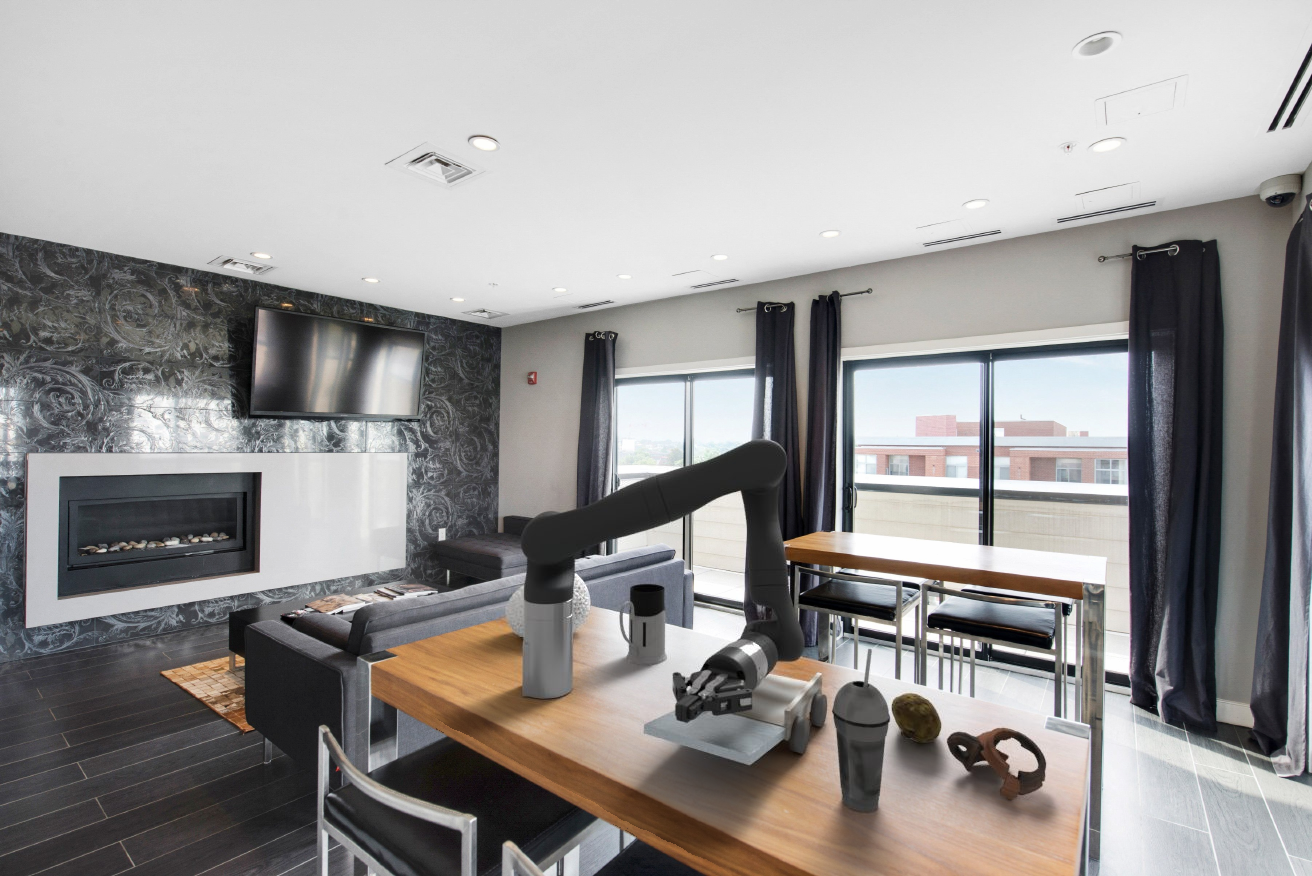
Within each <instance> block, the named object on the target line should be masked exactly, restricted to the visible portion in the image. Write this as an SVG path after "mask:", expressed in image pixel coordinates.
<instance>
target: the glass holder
mask: <svg viewBox="0 0 1312 876" xmlns="http://www.w3.org/2000/svg"><path fill="white" fill-rule="evenodd" d="M665 592H666V591H665V586H663V585H659V584H656V583H655V584H653V583H641V584H635V585H631V586H630V588H629V601H628V600H627V601H624V603H622V605H621V606H620V610H619V617H618V618H619V626H620V627H619V628H620V633H621V634H622V638H623V639H624V641H626V643H627V644H628V653H627V655H626V660H627V661H629V662H630V663H632V664H637V665H641V666H642V665H643V666H645V665H646V666H650V664H653V665H658V664H662V663H664V662H665V661H666V660H667V659H668V656H667V653H666V604H665V597H666V595H665ZM627 605H629V610H628V636H627V634H626V631H625V627H624V620H623V619H624V610H625V608H626V606H627ZM663 661H664V662H663ZM661 662H662V663H661ZM657 663H658V664H657Z"/></svg>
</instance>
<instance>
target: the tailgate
mask: <svg viewBox="0 0 1312 876" xmlns="http://www.w3.org/2000/svg"><path fill="white" fill-rule="evenodd" d="M643 734H645V735H647V736H652V737H654V738H658V739H660V740H664V741H668V742H671V743H675V744H678V745H681V746H685V747H688V748H691V749H695V750H698V751H701V752H705V753H708V754H711V755H714V756H717V757H721V758H724V759H727V760H731V761H734V762H738V763H741V764H745V765H747V766H751V765H752V764H754V763H755V762H756V761H757V760H759V759H760V758H762V756H764V755H765V754H766V753H767V752H768V751H770V750H771V749H772V748H774V747H775V746H777V745H778V744H779V743H780V742H781V741H782V740H783V741H784V738H785V737H786V728H784V727H780V726H776V725H772V724H768V723H764V722H760V721H757V720H753V719H749V718H745V717H741V716H737V715H733V714H725V715H719V716H715V715H713V714H712V711H709V712H708V713H706V714H700V715H699V716H698V717H697V718H696V719H694V720H691V721H689V722H688V723H685V722H681V721H678V720H677V719H676V716H675V710H673V711H670V712H668V713H666V714H663V715H661V716H660V717H659V716H658V717H657V718H655V719H653V720H651V721H649V722H647V723H644V724H643Z"/></svg>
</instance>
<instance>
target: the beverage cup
mask: <svg viewBox="0 0 1312 876" xmlns="http://www.w3.org/2000/svg"><path fill="white" fill-rule="evenodd" d="M872 653H873V649H871V648H867V655H866V656H867V657H866V663H865V670H864V680H853V681H850V682H848V683H846V684H844V685H843V686H841V687H840V689H839V690H838V691H837V692H836V695H835V698H834V701H833V706H832V710H831V712H832V714H833V723H834V728H835V731H836V733H835V734H836V744H837V745H836V746H837V756H838V770H839V784H840V788H841V789H840V790H841V798H842V799H841V800H842V802H843V804H844V805H845V806H846V807H848V808H849V809H851V810H854V811H856V812H861V813H871V812H874V811H876V810H878V808H879V801H880V800H879V799H880V797H881V786H882V776H883V767H884V765H883V764H884V757H885V756H884V755H885V746H886V745H885V744H886V737H887V736H888V730H889V724H890V722H891V716H890V712H889V711H890V710H889V706H888V703H887V700H886V698H885V697H884V695H883V694H882V692H881V691H880V690H879V689H878V688H877V687H875V685H873V684H871V683H869V679H870V671H871V669H870V668H871V661H872Z"/></svg>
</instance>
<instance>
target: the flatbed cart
mask: <svg viewBox="0 0 1312 876" xmlns="http://www.w3.org/2000/svg"><path fill="white" fill-rule="evenodd" d="M752 696H753V703H752V710H747V711H742V712H736V713H730V714H733V715H737V716H741V717H745V718H749V719H753V720H757V721H760V722H764V723H768V724H772V725H776V726H780V727H784V728H786V737H785V738H784V739H783V741H784V740H785V741H788V745H789V749H790V751H791V752H794V753H798V754H801V755H804V754H805V753H806V751H807V748H808V745H809V740H810V725H811V726H816V727H820V728H823V726H824V725H825V724H826V723H825V722H826V719H827V714H828V698H827V695H826V694H823V673H821V672H816V674H815V675H814V676H813V677H812V678H811V679H810V681H807V680H806V681H805V680H802V679H796V678H792V677H787V676H782V675H778V674H772V673H769V674H768V675H767V676H766V677H765V678H764V679H763V680H762V682H761V683H760V684H759V686H758V687H757V688H755V689H754V690H753V691H752ZM721 707H725V706H721ZM807 717H808V718H807Z"/></svg>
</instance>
